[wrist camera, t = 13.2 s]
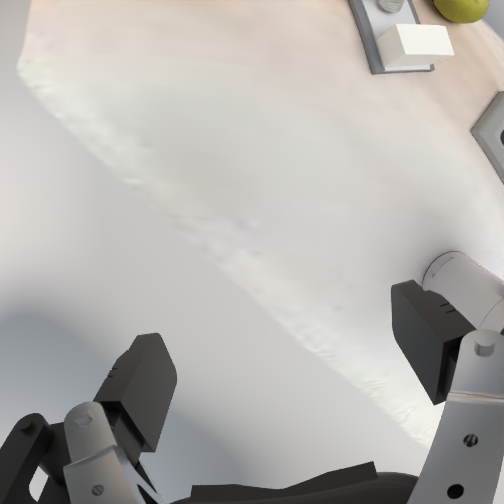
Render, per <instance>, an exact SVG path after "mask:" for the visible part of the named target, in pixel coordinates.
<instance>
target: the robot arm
mask: <svg viewBox="0 0 504 504" xmlns="http://www.w3.org/2000/svg"><path fill="white" fill-rule="evenodd" d="M391 303H392V328H393V333H394V337H395V340H396V342H397V344H398V345H399V347H400V348H401V350H402V352H403V353H404V355H405V357H406V358H407V360H408V362H409V363H410V365H411V367H412V368H413V370H414V372H415V373H416V375H417V377H418V378H419V380H420V382H421V384H422V385H423V387H424V389H425V391H426V392H427V394H428V396H429V398H430V399H431V401H432V403H433V405H437V404H439V403H442V402H444V401H446V403H445V407H444V410H443V413H442V416H441V420H440V423H439V426H438V429H437V432H436V435H435V437H434V440H433V443H432V446H431V448H430V451H429V454H428V456H427V459H426V461H425V464H424V466H423V469H422V471H421V474H420V476H419V477H417V476H414V475H409V474H405V473H397V472H376V469H375V466H374V462H373V461H372V462H368V463H364V464H360V465H356V466H352V467H348V468H344V469H339V470H335V471H330V472H327V473H324V474H322V475H320V476H317V477H314V478H312V479H310V480H307V481H304V482H301V483H299V484H296V485H293V486H290V487H288V488H284V489H268V488H259V487H251V486H243V485H236V484H229V485H193V486H192V491H191V496H190V497H188V498H184V499H181V500H178V501H175V502H173V503H170V504H492V503H493V499H494V495H495V492H496V488H497V484H498V480H499V475H500V471H501V466H502V461H503V456H504V281H503V280H502V279H500V278H499V277H497V276H496V275H494V274H493V273H491V272H490V271H488V270H487V269H485V268H484V267H482V266H481V265H479V264H478V263H476V262H475V261H473V260H472V259H470V258H468V257H467V256H465V255H464V254H462V253H459V252H449V253H445V254H444V255H442V256H440V257H439V258H437V259H436V260H435V261H434V262H433V263H432V264H431V266H430V267H429V269H428V270H427V272H426V275H425V277H424V280H423V284H422V288H421V287H420V286H419V285H418V284H417V283H416V282H415V281H414V280H410V281H406V282H402V283H399V284H395V285H392V287H391ZM176 384H177V373H176V369H175V366H174V364H173V362H172V360H171V358H170V355H169V353H168V351H167V348H166V346H165V344H164V342H163V339H162V337H161V335H160V334H159V333H151V334H144V335H138V336H137V337H136V338H135V340H134V341H133V343H132V345H131V347H130V348H129V350H127V351H126V352H125V353H124V354H122V355H121V356H120V357H119V358H118V359H117V360H116V362H115V364H114V365H113V367H112V370H110V372H109V374H108V378H106V379H105V381H104V382H103V384H102V386H101V387H100V389H99V391H98V393H97V394H96V396H95V398H94V400H93V401H92V402H84V403H82V404H79V405H77V406H75V407H74V408H73V409H71V410H70V411H69V412H68V414H67V415H66V417H65V419H64V422H61V423H56V424H51V425H49V424H48V422H47V421H46V420H45V419H44V417H43V416H42V415H41V414H39V413H33V414H29V415H27V416H25V417H23V418H22V419H20V420H19V421H18V422H17V423H16V425H15V426H14V428H13V430H12V431H11V432H10V434H9V436H8V437H7V439H6V441H5V442H4V444H3V445H2V447H1V449H0V504H167V503H166V502H165V500H164V499H163V497H162V495H161V494H160V492H159V490H158V489H157V487H156V485H155V484H154V482H153V480H152V479H151V477H150V475H149V473H148V471H147V470H146V468H145V466H144V465H143V463H142V461H141V460H140V459H139V457H140V454H141V452H155V451H156V447H157V444H158V441H159V438H160V434H161V431H162V428H163V425H164V421H165V418H166V415H167V412H168V409H169V406H170V403H171V399H172V396H173V393H174V390H175V386H176ZM38 466H39V467H40V468H41V469H42V470H43V471H44V472H45V473H46V474H47V475H48V476H49V477H48V479H47V482H46V484H45V486H44V488H43V491H42V493H41V496H40V498H39V500H38V502H37V501H36V500H34V499H33V497H32V496H31V494H30V491H29V484H30V482H31V480H32V478H33V475H34V473H35V471H36V469H37V467H38Z"/></svg>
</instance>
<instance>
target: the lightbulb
mask: <svg viewBox="0 0 504 504" xmlns="http://www.w3.org/2000/svg"><path fill="white" fill-rule="evenodd" d="M404 1H405V0H379V3H380V5H381V6H382V7H383V8H384V9H385V10H387V11H390V12H399V11H400V10H401V8H402V5H403V3H404Z"/></svg>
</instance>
